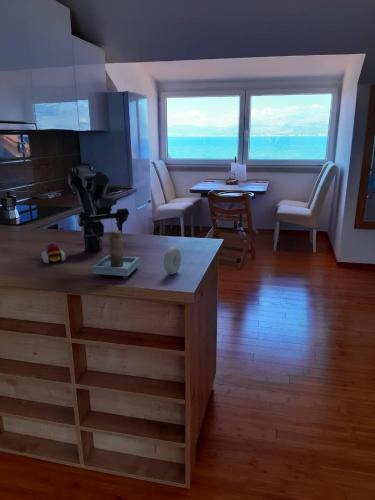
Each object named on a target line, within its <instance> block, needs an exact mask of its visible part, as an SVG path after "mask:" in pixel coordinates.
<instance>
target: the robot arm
mask: <svg viewBox="0 0 375 500" xmlns="http://www.w3.org/2000/svg"><path fill="white" fill-rule="evenodd" d="M67 178H68V179H67V182H68V185H69V186H70V189H71V191H73V192H74V193H75V194H76V196H77V200H78V203H79V206H80V209H81V212H79V213H78V216H77V224H78V226H79V227H81V229H80V235H81V236H80V237H81V238H82V239H83V240H84V249H83V252H84V253H96V254H97V253H99V252H100V251H102V250H103V249H104V247H103V240H102V237H104V233H105V225H104V223H103V222H102V220H114V219H115V222H116V223H115V224H116V227H117V229H118V230H117V231H121V235H123V224H124V223H125V222H126V221H127V220H128V218H129V215H130V212H129V209H127V208H117V210H116V212H112V210H113V208H112V207H113V206H116V205H117V204H118V201H117V198H116V196H115V195H111V196H110V197H106V196H105V194H106V193H107V190H108V186H109V183H110V179H109V177H108V176H107V175H105V174H104V173H102V171H95V173H93V172H92V171H90V170H89V169H88V167H87V166H85V165H81V166H80V165H79V166H78V165H76V166H75V167H74V169H73V170H72V171H71V172H69V173H68V176H67ZM88 191H89V192H88ZM111 212H112V213H111Z"/></svg>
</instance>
